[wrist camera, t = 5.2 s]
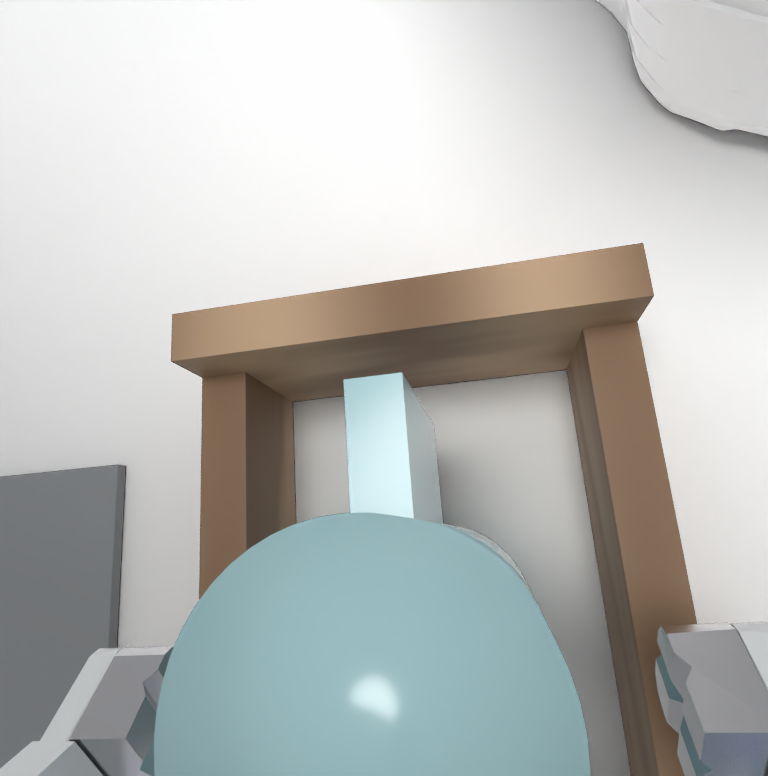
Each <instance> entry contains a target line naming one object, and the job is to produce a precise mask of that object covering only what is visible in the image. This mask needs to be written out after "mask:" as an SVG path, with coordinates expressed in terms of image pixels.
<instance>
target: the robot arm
mask: <svg viewBox="0 0 768 776" xmlns="http://www.w3.org/2000/svg"><path fill="white" fill-rule="evenodd" d="M657 642H658V645H659V648H660V651H661V653H662V654H661V655H660V656H658V657H657V658H656V665H655V674H656V682H657V689H658V694H659V698H660V702H661V706H662V709H663V712H664V715H665V718H666V721H667V723H668V724H669V725H670V726H671V727H672V728H673V729H674V730H675V731H676V732H677V733H678V734H679V741H678V751H677V755H678V758H679V760H680V763H681V766H682V769H683V772H684V775H685V776H768V623H767V622H748V623H732V624H728V623H709V624H692V625H674V626H661V627H660V628H659V630H658V636H657ZM173 648H174V647H137V648H127V647H124V648H100V649H98V650H97V651H96V652H94V653H93V654H92V655H91V656H90V657H89V658H88V660H87V662H86V663H85V665H84V667H83V669H82V670H81V672H80V674H79V675H78V677H77V679H76V680H75V682H74V684H73V685H72V687H71V689H70V691H69V692H68V694H67V696H66V697H65V699H64V701H63V702H62V704H61V706H60V708H59V709H58V711H57V713H56V714H55V716H54V718H53V719H52V721H51V723H50V724H49V726H48V728H47V730H46V731H45V733H44V735H43V736H42V738H41V740H40V741H32V742H31V743H30V744H29V745H27V746H26V747H25V748H24V749H23V750H22V751H20V752H19V753H18V754H17V755H16V756H14V757H13V758H12V759H11V760H10V761H9V762H7V763H6V764H5V765H4V766H3V767H2V768H0V776H155V774H154V734H155V722H156V711H157V706H158V701H159V696H160V691H161V685H162V681H163V678H164V675H165V671H166V668H167V665H168V662H169V658H170V655H171V653H172V651H173Z"/></svg>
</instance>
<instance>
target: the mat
mask: <svg viewBox="0 0 768 776" xmlns="http://www.w3.org/2000/svg"><path fill="white" fill-rule="evenodd" d="M125 470H126V466H123V465H109V466H100V467H90V468H81V469H71V470H61V471H52V472H42V473H32V474H23V475H13V476H3V477H0V768H2V767H3V766H4V765H5V764H6V763H7V762H9V761H10V760H11V759H12V758H13V757H14V756H16V755H17V754H18V753H19V752H20V751H22V750H23V749H24V748H25V747H26V746H27V745H29V744H30V743H31V742H32V741H40V740H41V738H42V736H43V735H44V733H45V731H46V730H47V728H48V726H49V724H50V723H51V721H52V719H53V718H54V716H55V714H56V713H57V711H58V709H59V708H60V706H61V704H62V702H63V701H64V699H65V697H66V696H67V694H68V692H69V691H70V689H71V687H72V685H73V684H74V682H75V680H76V679H77V677H78V675H79V674H80V672H81V670H82V669H83V667H84V665H85V663H86V662H87V660H88V658H89V657H90V656H91V655H92V654H93V653H94V652H96V651H97V650H98V649H100V648H117V632H118V612H119V592H120V571H121V551H122V531H123V511H124V490H125Z"/></svg>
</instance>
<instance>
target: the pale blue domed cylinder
mask: <svg viewBox="0 0 768 776" xmlns="http://www.w3.org/2000/svg"><path fill="white" fill-rule="evenodd" d="M343 382H344V401H345V420H346V439H347V458H348V477H349V497H350V513H341V514H334V515H327V516H321V517H317V518H313V519H310V520H307V521H303V522H300V523H296V524H294V525H292V526H289V527H287V528H285V529H283V530H280V531H278V532H276V533H274V534H272V535H270V536H268V537H267V538H265V539H264V540H262V541H260V542H259V543H257V544H256V545H254V546H252V547H251V548H249V549H248V550H247V551H246V552H244V553H243V554H242V555H241V556H240V557H238V558H237V559H236V560H235V561H233V562H232V563H231V564H230V565H229V566H228V567H227V568H226V569H225V570H224V571H223V572H222V573H221V574H220V575H219V576H218V577H217V578H216V580H215V581H214V582H213V583H212V584H211V585H210V586H209V588H208V589H207V591H206V592H205V593H204V595H203V596H202V597H201V599H200V600H199V601H198V603H197V604H196V605H195V607H194V609H193V611H192V612H191V614H190V616H189V617H188V619H187V621H186V623H185V624H184V626H183V628H182V630H181V632H180V634H179V637H178V639H177V641H176V644H175V646H174V648H173V651H172V653H171V655H170V658H169V662H168V665H167V668H166V671H165V675H164V678H163V681H162V685H161V691H160V696H159V701H158V706H157V711H156V722H155V734H154V774H155V776H591V772H590V760H589V748H588V737H587V732H586V727H585V722H584V718H583V713H582V708H581V703H580V700H579V697H578V694H577V691H576V688H575V685H574V682H573V679H572V676H571V673H570V670H569V668H568V666H567V664H566V661H565V659H564V657H563V655H562V653H561V651H560V649H559V646H558V644H557V642H556V640H555V638H554V636H553V634H552V632H551V630H550V628H549V626H548V624H547V622H546V620H545V618H544V616H543V614H542V612H541V610H540V608H539V606H538V604H537V602H536V600H535V598H534V596H533V594H532V592H531V590H530V588H529V586H528V584H527V582H526V580H525V578H524V576H523V574H522V573H521V571H520V570H519V568H518V566H517V565H516V563H515V562H514V561H513V560H512V558H511V557H510V556H509V555H508V554H507V553H506V552H505V551H504V550H503V549H502V548H501V547H500V546H499V545H498V544H496V543H495V542H494V541H492V540H491V539H489V538H488V537H486V536H484V535H482V534H481V533H478V532H476V531H473V530H471V529H468V528H464V527H461V526H456V525H450V524H444V523H443V517H442V506H441V495H440V485H439V474H438V463H437V453H436V442H435V431H434V423H433V421H432V420H431V418H430V417H429V415H428V413H427V412H426V410H425V409H424V407H423V405H422V404H421V402H420V400H419V399H418V397H417V396H416V394H415V392H414V391H413V389H412V388H411V386H410V384H409V383H408V381H407V379H406V378H405V376H404V375H403V373H402V372H401V373H393V374H385V375H377V376H368V377H360V378H352V379H344V380H343Z"/></svg>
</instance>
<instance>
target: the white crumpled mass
mask: <svg viewBox="0 0 768 776" xmlns="http://www.w3.org/2000/svg"><path fill="white" fill-rule="evenodd" d="M596 1H598V2H599V3H600V4H601V5H603V6H604V7H605V8H607V9H608V10H609V11H611V12H612V13H613V15H614V16H615V17H616V18H617V20H618V21H619V22H620V24H621V25H622V26H623V28H624V29H625V30H626V31H627V35H628V39H629V42H630V46H631V51H632V55H633V59H634V63H635V66H636V69H637V72H638V75H639V77H640V80H641V82H642V83H643V84H644V85H645V86H646V88H647V89H648V90H649V91H650V92H651V94H652V95H653V96H654V97H655V98H656V99H657V101H658V102H659V103H660V104H661V105H662V106H664V107H665V108H666V109H667V110H668V111H670V112H672V113H675V114H678V115H681V116H684V117H686V118H689V119H692V120H695V121H698V122H700V123H703V124H706V125H708V126H711V127H713V128H716V129H718V130H721V131H723V130H732V129H739V130H743V131H747V132H751V133H756V134H760V135H764V136H768V0H596Z"/></svg>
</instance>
